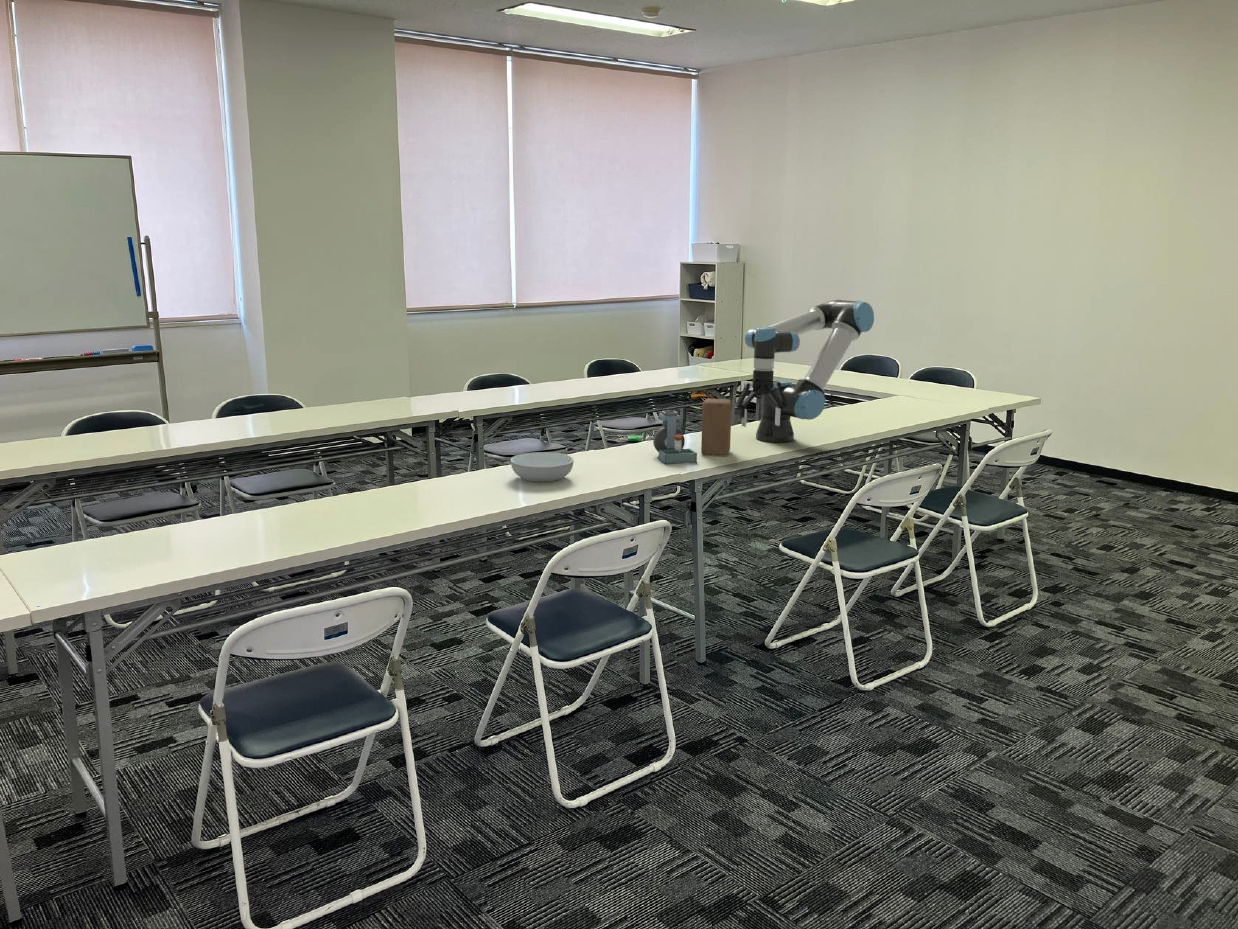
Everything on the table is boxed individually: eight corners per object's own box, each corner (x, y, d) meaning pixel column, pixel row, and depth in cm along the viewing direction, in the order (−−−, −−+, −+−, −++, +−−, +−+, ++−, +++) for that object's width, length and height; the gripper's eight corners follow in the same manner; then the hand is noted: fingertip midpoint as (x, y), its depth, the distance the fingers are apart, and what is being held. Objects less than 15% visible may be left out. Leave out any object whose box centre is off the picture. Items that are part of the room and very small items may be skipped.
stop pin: (680, 458, 337) (681, 434, 335) (683, 460, 334) (684, 435, 332) (671, 458, 336) (672, 434, 334) (674, 460, 333) (675, 436, 331)
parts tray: (689, 457, 340) (690, 448, 339) (696, 462, 333) (697, 452, 332) (658, 459, 337) (658, 450, 336) (664, 464, 330) (665, 454, 329)
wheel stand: (680, 453, 348) (680, 409, 344) (685, 457, 342) (686, 412, 338) (651, 454, 345) (652, 411, 341) (657, 458, 339) (657, 413, 335)
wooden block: (727, 457, 342) (729, 403, 338) (700, 455, 344) (702, 402, 340) (730, 451, 352) (732, 399, 347) (703, 450, 354) (705, 398, 349)
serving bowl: (505, 486, 299) (505, 465, 297) (516, 471, 319) (516, 451, 318) (570, 487, 298) (570, 466, 296) (576, 472, 318) (576, 452, 316)
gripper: (789, 367, 352) (786, 422, 357) (728, 368, 346) (725, 424, 350) (798, 370, 345) (795, 426, 350) (736, 371, 339) (733, 428, 343)
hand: (760, 425), depth 350 cm, fingers open, 13 cm apart
